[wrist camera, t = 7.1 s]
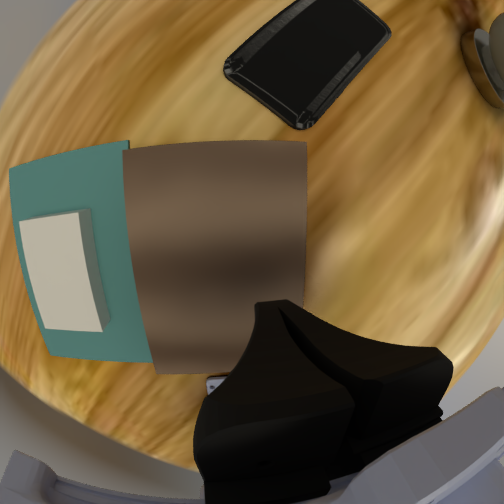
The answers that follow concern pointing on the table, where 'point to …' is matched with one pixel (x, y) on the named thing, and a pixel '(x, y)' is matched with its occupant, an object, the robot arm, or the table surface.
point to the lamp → (486, 60)
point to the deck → (213, 244)
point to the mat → (105, 237)
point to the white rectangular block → (65, 270)
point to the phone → (306, 57)
